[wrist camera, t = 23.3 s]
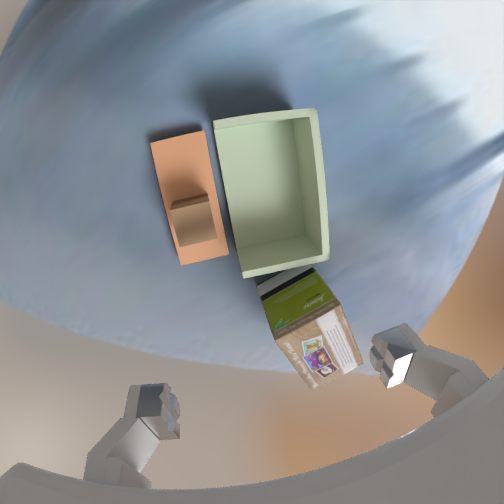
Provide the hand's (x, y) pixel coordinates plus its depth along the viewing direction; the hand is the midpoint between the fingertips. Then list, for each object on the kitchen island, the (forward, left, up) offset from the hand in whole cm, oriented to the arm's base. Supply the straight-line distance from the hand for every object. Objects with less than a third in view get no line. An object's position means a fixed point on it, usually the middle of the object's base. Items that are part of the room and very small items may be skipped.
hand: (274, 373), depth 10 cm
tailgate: (0, -1, -32) cm, 32 cm away
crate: (0, +6, -33) cm, 34 cm away
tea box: (+22, +9, -33) cm, 41 cm away
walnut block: (+2, -5, -31) cm, 32 cm away
